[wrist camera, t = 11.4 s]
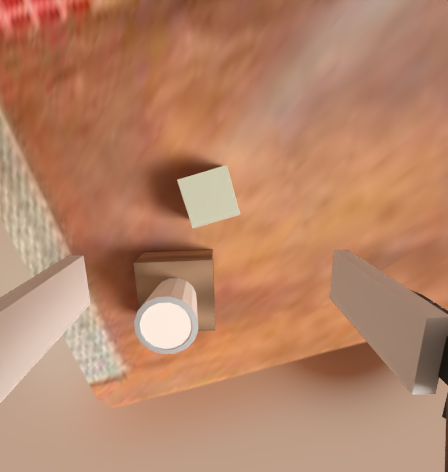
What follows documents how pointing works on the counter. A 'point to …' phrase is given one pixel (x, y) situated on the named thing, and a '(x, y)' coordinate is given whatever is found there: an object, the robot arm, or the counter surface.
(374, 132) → the counter surface
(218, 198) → the sage block
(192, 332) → the shot glass
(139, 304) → the walnut block
